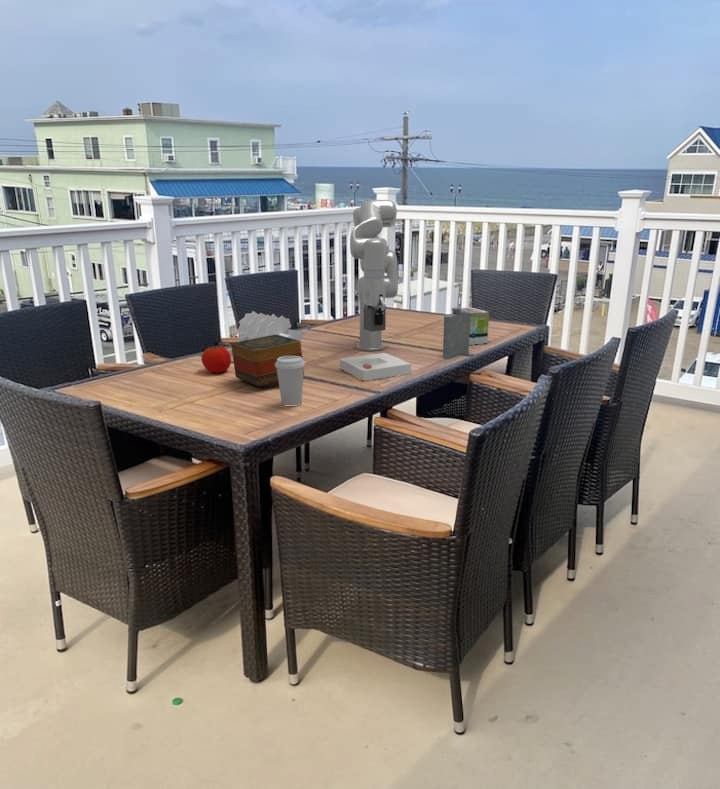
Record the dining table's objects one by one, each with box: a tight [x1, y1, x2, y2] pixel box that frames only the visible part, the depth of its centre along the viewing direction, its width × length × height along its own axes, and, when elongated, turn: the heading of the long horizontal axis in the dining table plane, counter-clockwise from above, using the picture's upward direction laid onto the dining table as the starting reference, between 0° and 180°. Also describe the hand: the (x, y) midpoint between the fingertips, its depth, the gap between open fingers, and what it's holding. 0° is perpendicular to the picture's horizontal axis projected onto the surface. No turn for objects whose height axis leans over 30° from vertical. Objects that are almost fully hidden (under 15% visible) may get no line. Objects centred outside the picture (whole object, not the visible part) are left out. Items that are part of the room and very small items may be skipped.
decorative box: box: [230, 335, 305, 388], centre depth 219 cm, size 20×22×16 cm
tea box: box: [460, 306, 490, 346], centre depth 278 cm, size 15×10×15 cm, turn 22°
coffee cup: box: [275, 356, 306, 405], centre depth 195 cm, size 10×10×15 cm
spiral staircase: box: [236, 310, 304, 343], centre depth 258 cm, size 18×18×25 cm
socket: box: [339, 352, 412, 381], centre depth 232 cm, size 20×20×5 cm
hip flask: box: [442, 307, 470, 360], centre depth 253 cm, size 16×4×20 cm, turn 136°
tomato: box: [201, 345, 232, 374], centre depth 234 cm, size 11×13×10 cm
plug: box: [364, 307, 387, 332], centre depth 227 cm, size 6×6×8 cm
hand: (374, 323), depth 227 cm, fingers closed on plug, 6 cm apart
